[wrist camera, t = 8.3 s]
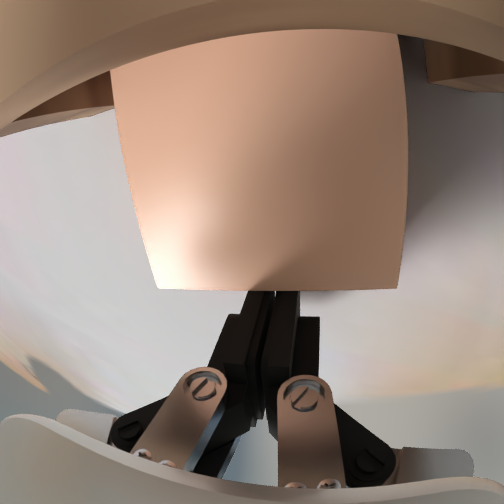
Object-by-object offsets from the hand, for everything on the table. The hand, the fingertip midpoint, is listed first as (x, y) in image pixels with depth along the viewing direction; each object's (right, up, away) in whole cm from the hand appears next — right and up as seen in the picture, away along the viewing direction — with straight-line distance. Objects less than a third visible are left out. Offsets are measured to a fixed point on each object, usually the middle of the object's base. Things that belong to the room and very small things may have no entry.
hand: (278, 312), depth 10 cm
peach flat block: (-1, +8, -2) cm, 8 cm away
